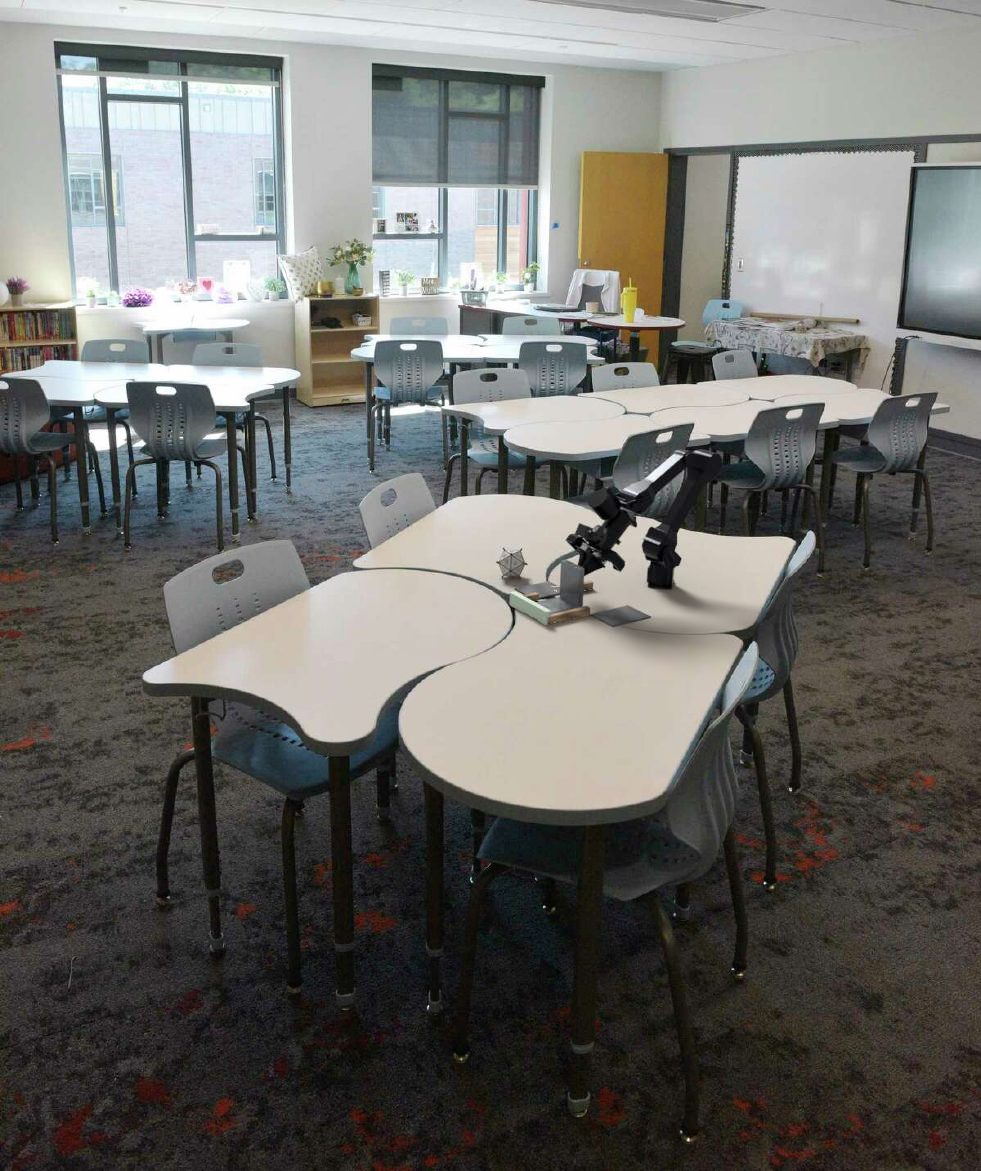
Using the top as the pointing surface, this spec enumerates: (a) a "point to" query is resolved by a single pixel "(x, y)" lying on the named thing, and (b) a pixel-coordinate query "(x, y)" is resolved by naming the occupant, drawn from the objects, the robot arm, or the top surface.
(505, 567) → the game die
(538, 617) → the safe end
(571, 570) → the bookend
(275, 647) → the top surface
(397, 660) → the top surface
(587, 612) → the trap lane
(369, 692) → the top surface
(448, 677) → the top surface
